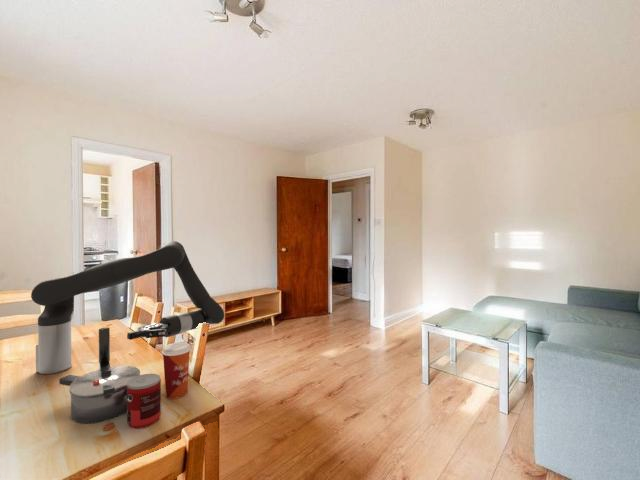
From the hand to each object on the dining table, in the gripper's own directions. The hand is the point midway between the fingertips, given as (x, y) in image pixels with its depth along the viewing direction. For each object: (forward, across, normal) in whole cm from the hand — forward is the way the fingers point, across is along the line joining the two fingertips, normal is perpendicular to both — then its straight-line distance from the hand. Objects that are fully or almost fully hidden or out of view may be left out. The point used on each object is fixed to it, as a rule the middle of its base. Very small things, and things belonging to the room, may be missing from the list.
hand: (128, 336), depth 103 cm
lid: (+11, -10, -8) cm, 17 cm away
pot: (+11, -9, -16) cm, 21 cm away
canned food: (+8, -26, -16) cm, 32 cm away
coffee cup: (-5, -21, -16) cm, 26 cm away
